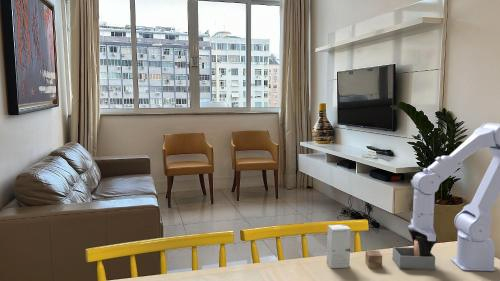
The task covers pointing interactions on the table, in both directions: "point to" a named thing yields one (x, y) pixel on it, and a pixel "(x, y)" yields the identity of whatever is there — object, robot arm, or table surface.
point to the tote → (412, 259)
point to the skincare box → (338, 246)
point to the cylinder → (416, 248)
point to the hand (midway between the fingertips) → (421, 255)
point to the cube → (373, 259)
